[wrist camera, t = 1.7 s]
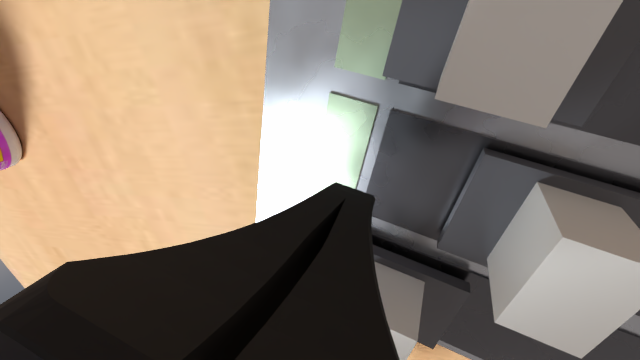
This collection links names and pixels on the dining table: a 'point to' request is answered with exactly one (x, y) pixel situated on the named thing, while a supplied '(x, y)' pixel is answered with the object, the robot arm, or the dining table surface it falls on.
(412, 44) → the block
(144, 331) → the robot arm
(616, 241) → the breaker mid
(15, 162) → the supplement bottle
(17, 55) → the dining table surface
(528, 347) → the panel
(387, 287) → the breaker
